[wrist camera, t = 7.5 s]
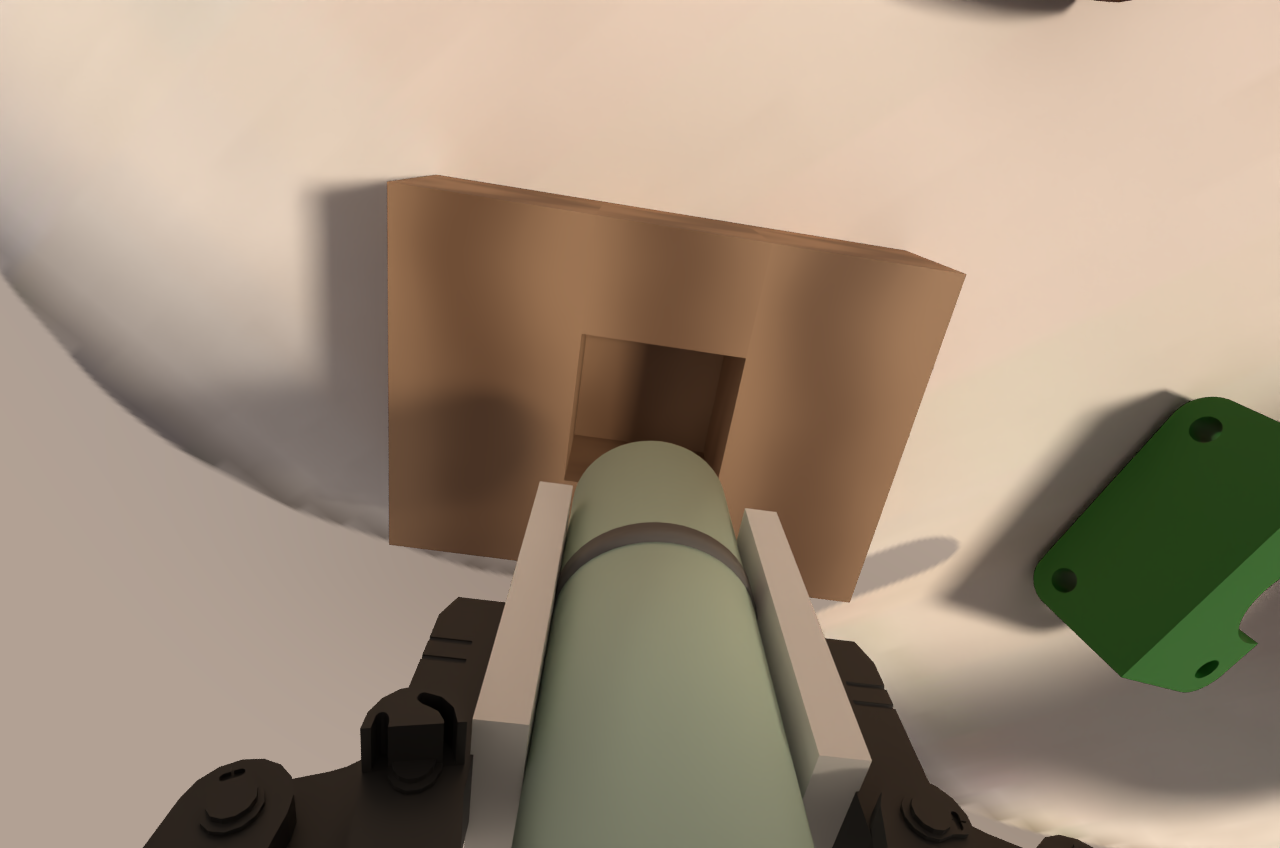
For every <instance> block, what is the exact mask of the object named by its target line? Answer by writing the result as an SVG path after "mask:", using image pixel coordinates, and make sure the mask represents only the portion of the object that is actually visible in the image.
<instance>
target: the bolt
mask: <svg viewBox="0 0 1280 848" xmlns="http://www.w3.org/2000/svg"><path fill="white" fill-rule="evenodd" d="M1096 1H1105V2H1124V1H1130V0H1096Z"/></svg>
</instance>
